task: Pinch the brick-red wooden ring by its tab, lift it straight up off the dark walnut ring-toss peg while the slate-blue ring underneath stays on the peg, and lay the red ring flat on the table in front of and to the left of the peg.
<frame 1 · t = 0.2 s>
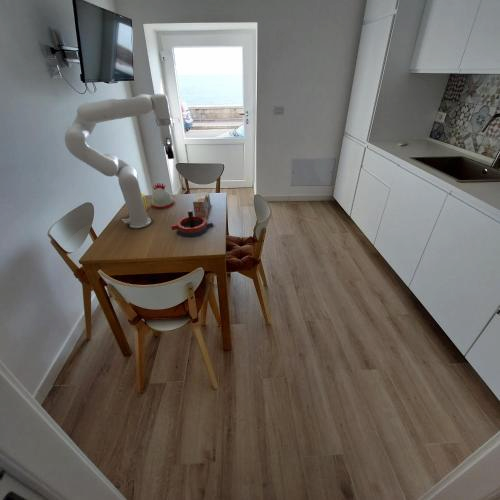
hand: (170, 156, 147), 36 cm above the table, tool pointing down, fingers open, 9 cm apart
red ring: (192, 225, 153), point 2 cm above the table, touching slate ring
white rounded dome: (163, 204, 184), on the table
tape roll: (139, 210, 177), on the table
ring peg: (193, 229, 154), on the table
stack of blocks: (203, 213, 172), on the table
slate ring: (193, 229, 154), on the table, touching red ring
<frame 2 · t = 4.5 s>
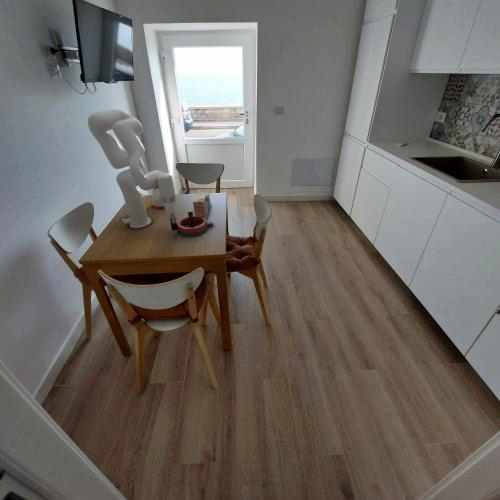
hand: (174, 228, 150), 2 cm above the table, tool pointing down, fingers closed on red ring, 2 cm apart
red ring: (192, 225, 153), point 2 cm above the table, touching gripper
slate ring: (193, 229, 154), on the table
everything else where it was.
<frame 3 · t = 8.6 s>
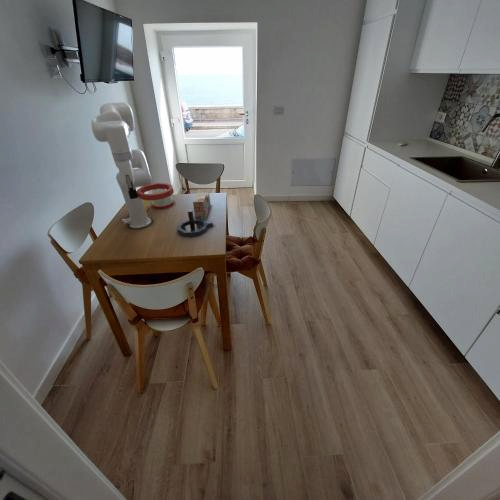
hand: (133, 197, 124), 28 cm above the table, tool pointing down, fingers closed on red ring
red ring: (156, 193, 127), point 27 cm above the table, touching gripper
everything else where it was.
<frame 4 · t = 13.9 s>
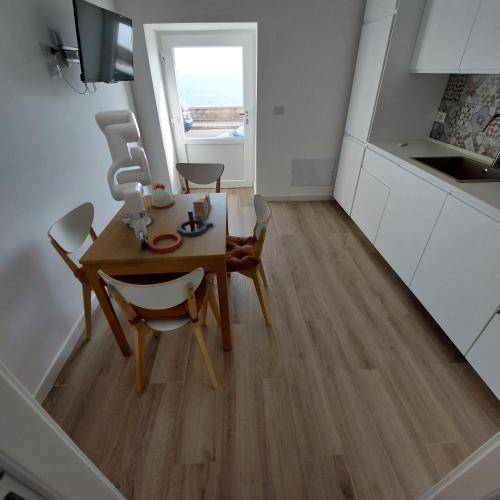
hand: (145, 244, 138), 2 cm above the table, tool pointing down, fingers open, 9 cm apart
red ring: (166, 244, 142), on the table
everything else where it was.
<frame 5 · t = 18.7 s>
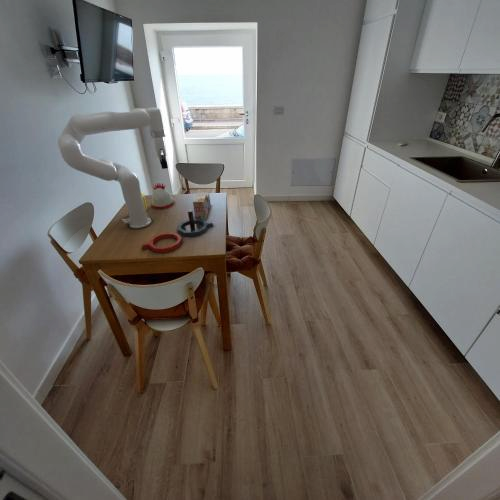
hand: (164, 166, 154), 30 cm above the table, tool pointing down, fingers open, 9 cm apart
nothing on the table moved.
at the end: red ring inside the target area (0.3 cm from its centre), on the table; red ring tilted 0°; slate ring 0.0 cm from the ring peg (horizontally) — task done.
